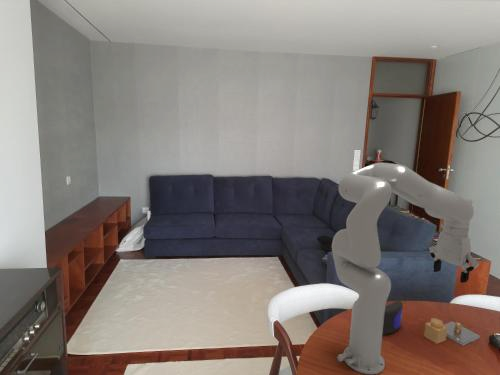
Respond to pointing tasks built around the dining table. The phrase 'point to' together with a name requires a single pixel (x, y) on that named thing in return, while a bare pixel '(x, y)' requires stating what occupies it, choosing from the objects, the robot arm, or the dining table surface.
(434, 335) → the cube with dome knob
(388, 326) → the grey blue curved piece
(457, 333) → the plate
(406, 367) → the dining table surface
